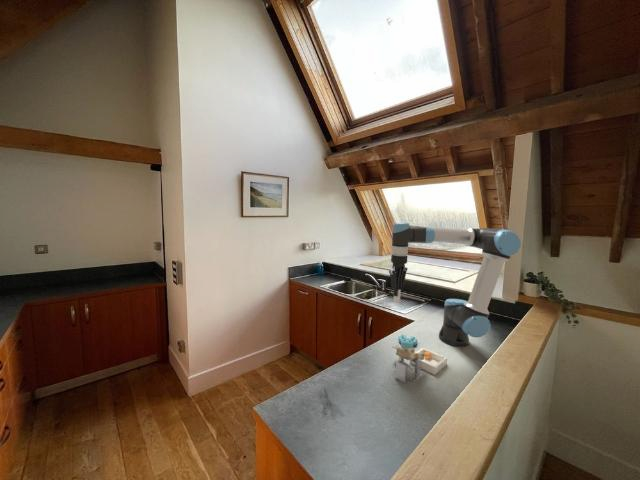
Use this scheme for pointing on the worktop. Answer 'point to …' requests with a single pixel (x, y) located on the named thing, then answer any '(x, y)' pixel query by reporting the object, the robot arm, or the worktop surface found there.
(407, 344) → the toy
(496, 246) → the robot arm
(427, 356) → the ball
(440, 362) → the dish
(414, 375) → the fulcrum
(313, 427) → the worktop surface
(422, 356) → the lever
